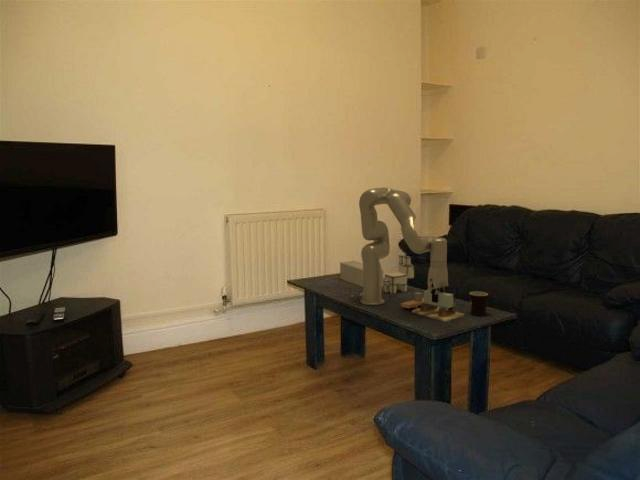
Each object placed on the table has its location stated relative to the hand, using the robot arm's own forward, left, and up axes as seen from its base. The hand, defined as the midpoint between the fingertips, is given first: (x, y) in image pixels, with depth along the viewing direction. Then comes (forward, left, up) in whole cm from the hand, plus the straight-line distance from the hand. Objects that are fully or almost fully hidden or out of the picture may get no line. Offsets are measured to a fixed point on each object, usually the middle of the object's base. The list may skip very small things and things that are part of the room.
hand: (438, 300), depth 246 cm
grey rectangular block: (-74, +17, -7) cm, 76 cm away
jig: (0, 0, -7) cm, 7 cm away
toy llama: (-43, +17, -7) cm, 47 cm away
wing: (-15, +3, -7) cm, 17 cm away
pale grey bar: (0, 0, -2) cm, 2 cm away
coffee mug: (+12, +16, -7) cm, 21 cm away
